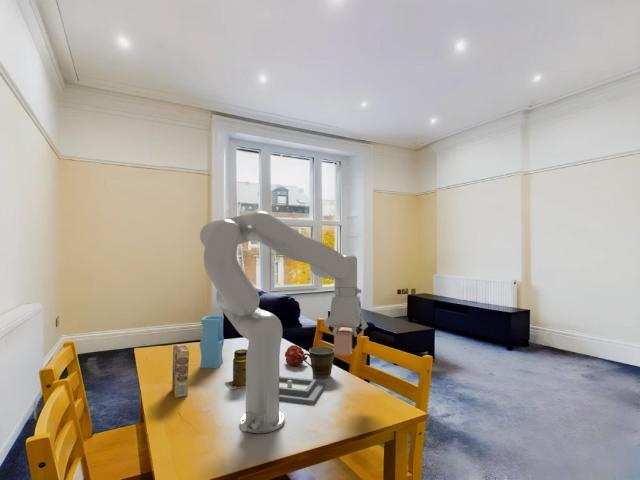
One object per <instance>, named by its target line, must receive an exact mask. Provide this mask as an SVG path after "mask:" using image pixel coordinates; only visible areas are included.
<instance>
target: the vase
mask: <svg viewBox="0 0 640 480" xmlns="http://www.w3.org/2000/svg"><path fill="white" fill-rule="evenodd" d="M224 317H225V316H224V315H205V316H204V317H202V318H200V321H201V326H202V327H201V328H202V335H201V339H200V341H199V350H200V355H201V356H200V357H201V358H200V359H201V360H200V364H199V369H218V368H220V367H221V365H223V363H224V361H223V347H224V342H225V337H224V335H223V331H222V330H223V329H222V328H223V327H222V326H223V321H224V319H225V318H224Z"/></svg>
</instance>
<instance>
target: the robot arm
mask: <svg viewBox="0 0 640 480" xmlns="http://www.w3.org/2000/svg"><path fill="white" fill-rule="evenodd" d="M203 225H204V224H203ZM199 238H200V239H199V240H200V242H201V244H202V245H203V247H204V252H203V264H204V265H203V266H204V269H205V272H206V274H207V276H208V278H209V280H210V281H211V283H212V284H213V286H214V287H215V289H216V290H217V291H216V293H215V295H216V296H215V297H216V302H217V304H218V306H219V307H220V310H221V311H222V312H223V314H224V315H225V316H226V318H227V319H228V321H229V322H230V323H231V325H232V327H234V329H235V330H236V331H237V333H239V335H240V336H242V337H243V338H245V339H247V340H248V346H247V349H246V350H247V355H246V387H245V413H244V414H243V415H242V416H241V417H240V419H239V425H240V427H239V428H240V430H241V431H242V432H248V433H252V434H266V433H267V434H268V433H271V432H274V431H276V430H278V429H280V428H281V427H283V425H284V423H285V422H286V421H285V415H284V414H283V412H281V411H280V400H279V376H280V353H281V344H282V338H283V325H282V322H281V319H279V318H278V316H276V314H274V313H272V312H270V311H267V310H265V309H261V307H259V305H260V295H259V292H258V290H257V288H256V287H255V286H254V284H253V283H252V282H251V280H250V279H249V277H248V276H247V274H246V273H245V271H244V270H243V269H242V267H241V265H240V263H239V261H238V257H237V251H238V247H239V245H242V244H244V243H248V242H251V241H257V242H259V243H260V244H263V245H264V246H266V247H268V248H269V249H271V250H273V251H275V252H276V253H278V254H280V255H281V256H282V257H284V258H287V259H290V260H292V261H296V262H300V263H304V264H308V265H309V266H310V268H309V269H310V271H311V272H312V274H313V275H315V276H316V277H319V278H322V279H323V278H324V279H333V280H334V286H333V287H334V288H333V289H334V293H333V295H332V297H331V302H330V309H329V310H330V312H329V313H330V314H329V316H328V317H327V318H326V320H325V321H324V322H323V325H324V326H325V327H326V328H327V329H328V331H330V332H331V334H332V335H333V336H334V335H335V334H336V333H337V332H338V331H339V329H340V328H341V327H347V328H352V331H353V336H352V349H353V350H355V348H356V346H358V336H359V334H361V333H362V332H363V331H364V330H366V329H367V328H368V327H369V325H368V324H367V322H366V321H365V320H364V318H363V317H362V306H361V297H360V296H359V295H360V294H362V289H360V288H358V258H357V257H356V256H355V255H352V254H351V255H350V254H341V253H340V252H338V251H337V250H335V249H334V248H332V247H331V246H329V245H328V244H324V243H323V242H320V241H319V240H316V239H314V238H312V237H310V236H308V235H305V234H304V233H303V234H302V233H300V232H299V231H297V229H294V228H293V227H291V226H290V225H288V224H286V223H285V222H283V221H282V220H280V219H278V218H277V217H276V216H274V215H272V214H270V213H269V212H267V211H263V210H258V211H253V212H248V213H245V214H241V215H237V216H233V217H232V216H231V217H228V218H223V219H216V220H212V221H209V222H207V223H206V224H205V225H204V226H203V227H202V228H201V230H200V233H199ZM358 294H359V295H358ZM360 325H361V326H360Z"/></svg>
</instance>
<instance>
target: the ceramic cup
mask: <svg viewBox="0 0 640 480" xmlns="http://www.w3.org/2000/svg"><path fill="white" fill-rule="evenodd" d="M305 355H306V356H307V357H309V359H310V363H309V362H308V360H304V359H303V357H304V356H305ZM306 356H305V357H306ZM303 357H302V359H303V362H305V363H306V364H307V365H308V366H310V368H311V371H312V376H313V378H315V379H320V380H325V379H329V378H330V377H331V375H332V370H333V362H334V359H335V354H334V347H333V348H332V347H331V346H330V347H328V346H315V347H311V348H310V349H309V350H308V353H305V352H304V354H303Z"/></svg>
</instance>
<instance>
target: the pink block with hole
mask: <svg viewBox="0 0 640 480" xmlns="http://www.w3.org/2000/svg"><path fill="white" fill-rule="evenodd" d="M352 336H353V331H352V328H351V327H339V329H338V332H337V333H336V334H335V335H333V349H334V355H339V356H350V355H351V354H352V353H353V351H354V349H352Z"/></svg>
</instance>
